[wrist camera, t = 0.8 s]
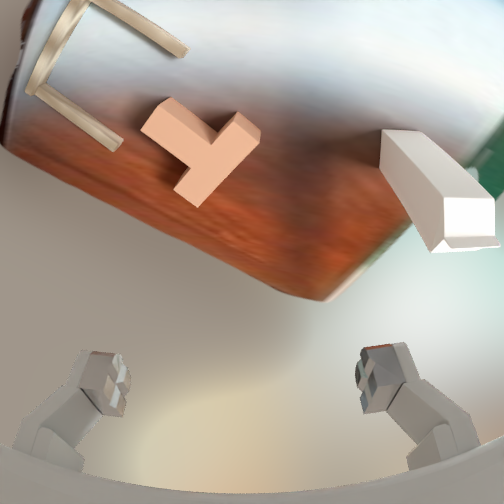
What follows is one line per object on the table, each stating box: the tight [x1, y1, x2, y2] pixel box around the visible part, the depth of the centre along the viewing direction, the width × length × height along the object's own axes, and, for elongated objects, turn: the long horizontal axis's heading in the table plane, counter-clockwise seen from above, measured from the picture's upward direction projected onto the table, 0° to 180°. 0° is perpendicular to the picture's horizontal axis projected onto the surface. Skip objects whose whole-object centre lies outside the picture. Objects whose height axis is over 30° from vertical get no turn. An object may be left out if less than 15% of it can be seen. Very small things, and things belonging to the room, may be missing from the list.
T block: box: [141, 97, 261, 208], centre depth 38 cm, size 12×12×5 cm
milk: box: [379, 129, 501, 253], centre depth 30 cm, size 6×6×22 cm
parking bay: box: [25, 0, 191, 152], centre depth 32 cm, size 18×18×3 cm
